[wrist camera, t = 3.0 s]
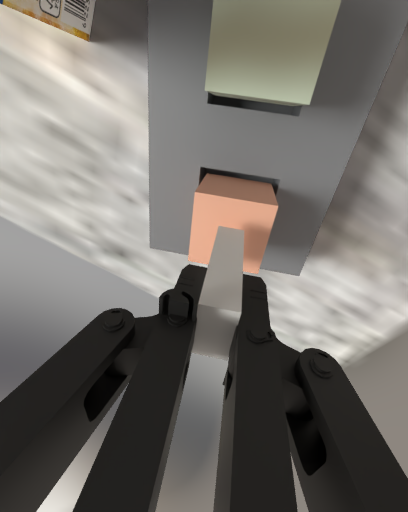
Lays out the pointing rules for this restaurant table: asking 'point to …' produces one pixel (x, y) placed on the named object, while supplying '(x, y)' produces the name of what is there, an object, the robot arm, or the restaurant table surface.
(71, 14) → the beverage box
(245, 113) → the gray slotted block tray
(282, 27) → the sage block
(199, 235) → the terracotta block
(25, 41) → the restaurant table surface
